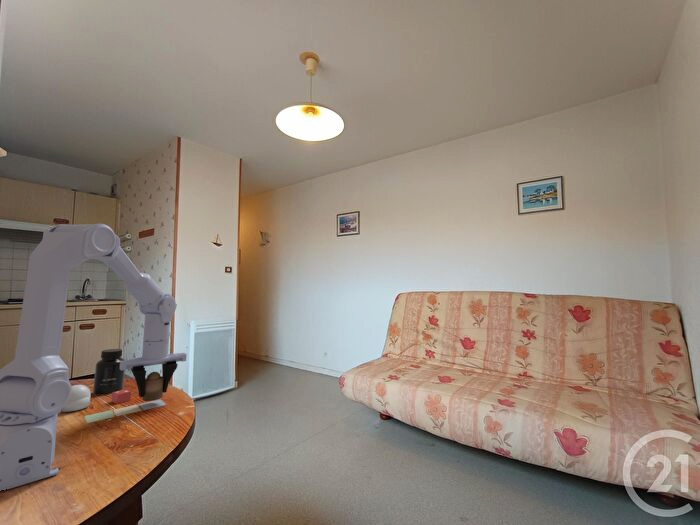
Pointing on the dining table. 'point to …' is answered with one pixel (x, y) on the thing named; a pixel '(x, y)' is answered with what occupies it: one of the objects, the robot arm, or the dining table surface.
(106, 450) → the dining table surface
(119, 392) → the red die
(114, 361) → the supplement bottle
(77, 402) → the dome
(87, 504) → the dining table surface
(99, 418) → the game board
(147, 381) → the pawn
